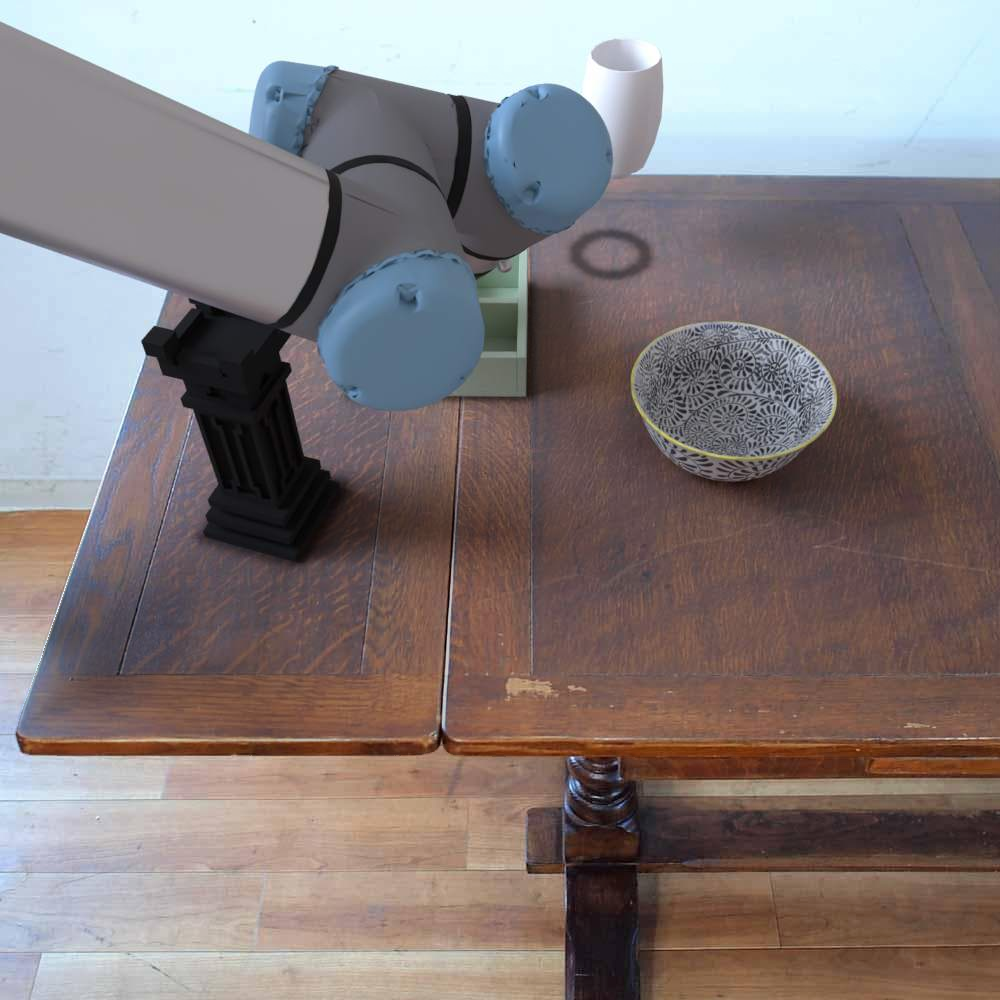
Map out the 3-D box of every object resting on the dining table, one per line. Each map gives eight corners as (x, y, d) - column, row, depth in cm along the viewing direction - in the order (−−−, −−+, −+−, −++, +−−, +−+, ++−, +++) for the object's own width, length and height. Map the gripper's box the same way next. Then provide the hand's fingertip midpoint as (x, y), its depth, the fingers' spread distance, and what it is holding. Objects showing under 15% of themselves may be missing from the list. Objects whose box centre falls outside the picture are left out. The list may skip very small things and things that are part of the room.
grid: (352, 395, 92) (345, 356, 88) (371, 287, 102) (365, 248, 98) (526, 396, 91) (526, 357, 88) (527, 287, 101) (527, 248, 98)
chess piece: (296, 562, 80) (242, 369, 64) (205, 537, 81) (132, 343, 66) (340, 488, 85) (299, 292, 69) (253, 466, 86) (194, 270, 71)
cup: (615, 225, 108) (630, 27, 92) (661, 259, 104) (685, 58, 88) (560, 250, 105) (566, 50, 89) (605, 286, 101) (620, 84, 85)
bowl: (667, 364, 94) (677, 297, 88) (840, 421, 88) (862, 354, 83) (593, 480, 85) (597, 415, 79) (780, 551, 79) (800, 487, 74)
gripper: (369, 322, 67) (298, 369, 89) (595, 228, 74) (478, 293, 95) (320, 213, 66) (260, 288, 88) (553, 127, 73) (445, 216, 94)
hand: (374, 291), depth 91 cm, fingers closed on supplement bottle, 5 cm apart
